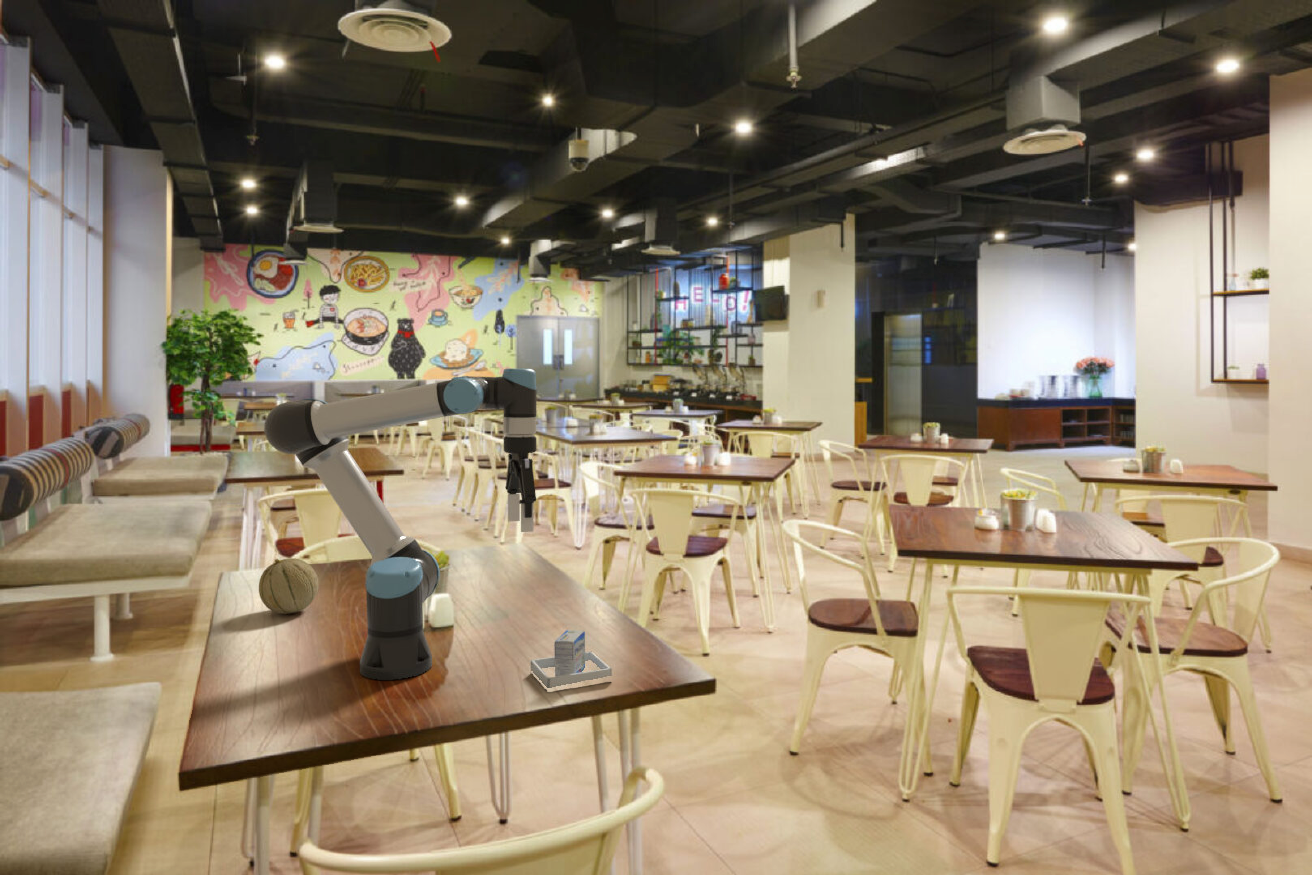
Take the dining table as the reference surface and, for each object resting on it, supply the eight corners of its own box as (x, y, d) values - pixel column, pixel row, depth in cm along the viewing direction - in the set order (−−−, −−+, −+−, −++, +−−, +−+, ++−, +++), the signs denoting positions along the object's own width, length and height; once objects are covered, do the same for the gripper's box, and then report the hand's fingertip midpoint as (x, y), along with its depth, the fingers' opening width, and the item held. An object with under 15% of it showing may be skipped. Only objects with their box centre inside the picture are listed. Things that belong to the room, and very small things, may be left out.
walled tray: (547, 692, 174) (547, 678, 174) (530, 673, 185) (530, 659, 185) (611, 682, 180) (611, 668, 180) (591, 664, 191) (591, 651, 191)
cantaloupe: (331, 609, 232) (329, 555, 230) (283, 624, 219) (281, 566, 218) (295, 601, 239) (293, 549, 238) (247, 615, 227) (245, 559, 225)
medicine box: (574, 682, 178) (574, 642, 177) (554, 680, 179) (554, 640, 178) (585, 669, 186) (585, 630, 185) (566, 667, 187) (565, 629, 186)
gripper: (549, 439, 187) (549, 535, 189) (523, 430, 211) (523, 516, 212) (516, 440, 185) (516, 537, 187) (493, 431, 208) (493, 517, 210)
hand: (520, 526), depth 199 cm, fingers open, 13 cm apart
